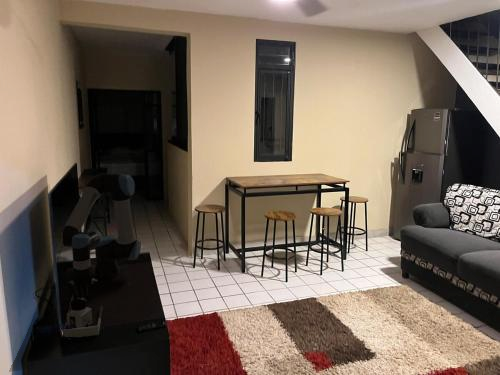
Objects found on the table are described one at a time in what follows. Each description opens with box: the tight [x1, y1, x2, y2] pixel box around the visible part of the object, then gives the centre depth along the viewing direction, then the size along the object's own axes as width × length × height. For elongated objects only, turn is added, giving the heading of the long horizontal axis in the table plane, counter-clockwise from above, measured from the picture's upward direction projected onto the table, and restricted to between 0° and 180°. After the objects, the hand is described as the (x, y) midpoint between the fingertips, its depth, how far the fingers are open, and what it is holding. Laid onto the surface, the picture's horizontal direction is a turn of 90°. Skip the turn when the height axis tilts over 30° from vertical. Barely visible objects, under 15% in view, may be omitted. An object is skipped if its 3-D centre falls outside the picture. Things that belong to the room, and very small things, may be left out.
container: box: [66, 297, 93, 328], centre depth 181 cm, size 8×8×13 cm
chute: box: [62, 305, 103, 338], centre depth 184 cm, size 24×15×4 cm, turn 16°
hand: (84, 313), depth 187 cm, fingers closed
